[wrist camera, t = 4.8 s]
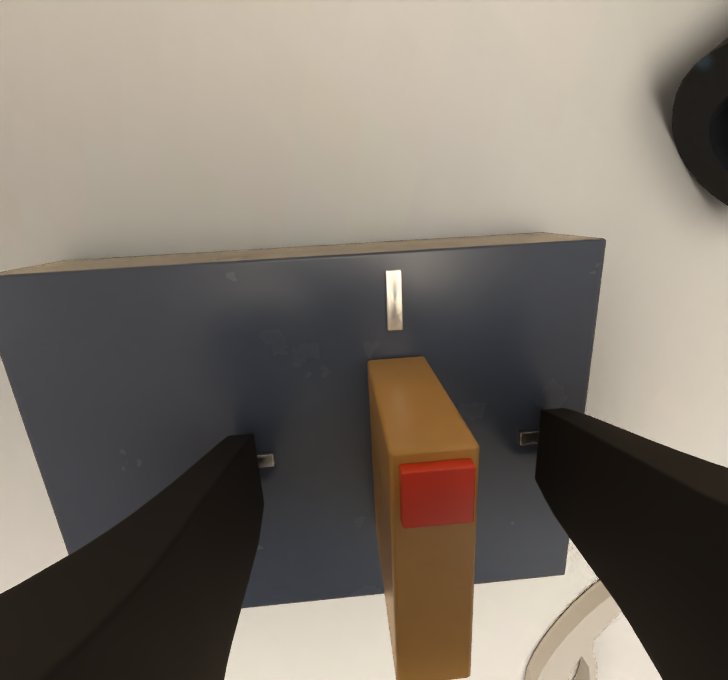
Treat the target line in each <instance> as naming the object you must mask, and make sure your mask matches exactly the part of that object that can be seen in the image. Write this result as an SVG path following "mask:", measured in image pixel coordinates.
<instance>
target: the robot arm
mask: <svg viewBox="0 0 728 680" xmlns="http://www.w3.org/2000/svg"><path fill="white" fill-rule="evenodd" d="M535 480H536V482H537V484H538V486H539V488H540V490H541V492H542V494H543V496H544V498H545V500H546V502H547V504H548V505H549V507H550V509H551V511H552V513H553V515H554V516H555V517H556V519H557V520H558V522H559V523H560V525H561V526H562V528H563V529H564V530H565V532H566V533H567V535H568V536H569V538H570V539H571V540H572V542H573V543H574V545H575V546H576V547H577V549H578V550H579V552H580V553H581V554H582V556H583V557H584V559H585V560H586V561H587V563H588V564H589V565H590V567H591V568H592V570H593V571H594V572H595V574H596V575H597V577H598V578H599V579H600V581H601V582H602V584H603V585H604V586H605V588H606V589H607V591H608V592H609V593H610V595H611V596H612V598H613V599H614V600H615V602H616V603H617V605H618V606H619V608H620V609H621V611H622V612H623V614H624V615H625V617H626V618H627V620H628V621H629V623H630V625H631V626H632V628H633V630H634V631H635V633H636V635H637V637H638V638H639V640H640V642H641V643H642V645H643V647H644V648H645V650H646V652H647V654H648V655H649V657H650V659H651V660H652V662H653V664H654V665H655V667H656V669H657V670H658V672H659V674H660V676H661V678H662V679H663V680H728V468H726V467H723V466H720V465H717V464H714V463H711V462H708V461H706V460H703V459H700V458H697V457H694V456H692V455H689V454H686V453H683V452H680V451H678V450H675V449H672V448H670V447H667V446H664V445H662V444H659V443H656V442H654V441H651V440H649V439H646V438H644V437H641V436H639V435H636V434H634V433H631V432H629V431H626V430H624V429H621V428H619V427H616V426H614V425H611V424H609V423H606V422H604V421H601V420H598V419H596V418H593V417H591V416H588V415H585V414H582V413H580V412H577V411H573V410H570V409H566V408H558V409H545V410H541V412H540V424H539V435H538V446H537V458H536V469H535ZM263 510H264V498H263V491H262V485H261V478H260V472H259V465H258V459H257V452H256V445H255V439H254V434H242V435H230V436H227V437H226V438H225V439H223V440H222V441H221V442H220V443H218V444H217V445H216V446H215V447H214V448H212V449H211V450H210V451H209V452H208V453H207V454H205V455H204V456H203V457H202V458H201V459H200V460H199V461H197V462H196V463H195V464H194V465H193V466H191V467H190V468H189V469H188V470H187V471H186V472H184V473H183V474H182V475H181V476H180V477H178V478H177V479H176V480H175V481H174V482H172V483H171V484H170V485H169V486H167V487H166V488H165V489H164V490H162V491H161V492H160V493H158V494H157V495H156V496H154V497H153V498H152V499H151V500H149V501H148V502H147V503H145V504H144V505H143V506H142V507H140V508H139V509H138V510H136V511H135V512H134V513H132V514H131V515H130V516H128V517H127V518H125V519H124V520H122V521H121V522H120V523H118V524H117V525H115V526H114V527H112V528H111V529H109V530H108V531H106V532H105V533H103V534H102V535H100V536H99V537H97V538H96V539H94V540H93V541H91V542H90V543H88V544H86V545H85V546H83V547H82V548H80V549H78V550H77V551H75V552H74V553H72V554H70V555H68V556H67V557H65V558H63V559H61V560H60V561H58V562H56V563H55V564H53V565H51V566H49V567H48V568H46V569H44V570H42V571H41V572H39V573H37V574H35V575H34V576H32V577H30V578H29V579H27V580H25V581H23V582H22V583H20V584H18V585H16V586H15V587H13V588H11V589H9V590H7V591H5V592H3V593H1V594H0V680H224V677H225V672H226V666H227V662H228V658H229V653H230V649H231V645H232V641H233V637H234V633H235V629H236V626H237V622H238V618H239V615H240V611H241V607H242V604H243V600H244V596H245V593H246V589H247V585H248V582H249V578H250V574H251V571H252V567H253V563H254V559H255V556H256V552H257V548H258V544H259V538H260V532H261V525H262V517H263Z"/></svg>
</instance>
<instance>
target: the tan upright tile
mask: <svg viewBox="0 0 728 680" xmlns="http://www.w3.org/2000/svg"><path fill="white" fill-rule="evenodd" d="M367 366H368V386H369V405H370V424H371V444H372V463H373V482H374V502H375V521H376V533H377V540H378V548H379V555H380V563H381V570H382V577H383V585H384V592H385V600H386V607H387V615H388V622H389V630H390V637H391V645H392V652H393V660H394V667H395V675H396V680H451V679H460V678H467V677H469V676H470V668H471V643H472V618H473V593H474V568H475V543H476V518H477V493H478V467H479V445H478V443H477V441H476V439H475V438H474V436H473V435H472V433H471V431H470V430H469V428H468V427H467V425H466V423H465V422H464V420H463V419H462V417H461V415H460V414H459V412H458V410H457V409H456V407H455V406H454V404H453V402H452V401H451V399H450V398H449V396H448V394H447V393H446V391H445V390H444V388H443V386H442V385H441V383H440V382H439V380H438V378H437V377H436V375H435V374H434V372H433V370H432V369H431V367H430V366H429V364H428V362H427V361H426V359H425V357H422V356H420V357H406V358H392V359H378V360H369V361H368V363H367Z"/></svg>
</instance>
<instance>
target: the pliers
mask: <svg viewBox="0 0 728 680" xmlns="http://www.w3.org/2000/svg"><path fill="white" fill-rule="evenodd" d="M621 612H622V611H621V609H620V608H619V606H618V605H617V603H616V602H615V600H614V599H613V598H612V596H611V595H610V593H609V592H608V591H607V589H606V588H605V586H604V585H603V584H602V582H601V581H600V580H599V581H598V582H597V583H596V584H594V585H593V586H592V587H590V588H589V589H588V590H587V591H586V592H585V593H584V594H583V595H581V596H580V597H579V598H578V599H577V600H576V601H575V602H574V603H573V604H572V605H571V606H570V607H569V608H568V609H567V610H566V611H565V612H564V613H563V614H562V616H561V617H560V618H559V619H558V620H557V621H556V623H555V624H554V625H553V626H552V627H551V629H550V630H549V631H548V632H547V634H546V635H545V637H544V638H543V640H542V641H541V643H540V644H539V646H538V647H537V649H536V650H535V652H534V654H533V656H532V658H531V661H530V663H529V665H528V667H527V671H526V676H525V680H569V678H570V675H571V673H572V670H573V669H574V667H575V666H576V664H577V663H578V661H579V660H580V665H579V668H578V671H577V674H576V676H575V678H574V680H596V679H597V663H596V659H595V656H594V652H593V647H594V640H595V639H596V638H597V637H598V636H599V635H600V634H601V633H602V632H603V630H604V629H605V628H606V627H607V626H608V625H609V624H610V623H611V622H612V621H613V620H614V619H615V618H616V617H617V616H618V615H619V613H621Z"/></svg>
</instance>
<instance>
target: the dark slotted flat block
mask: <svg viewBox="0 0 728 680" xmlns="http://www.w3.org/2000/svg"><path fill="white" fill-rule="evenodd" d="M605 245H606V240H605V239H603V238H594V237H584V236H574V235H564V234H554V233H544V232H541V233H524V234H507V235H490V236H474V237H457V238H440V239H423V240H406V241H389V242H372V243H355V244H338V245H321V246H304V247H288V248H271V249H254V250H237V251H220V252H203V253H186V254H169V255H152V256H135V257H118V258H102V259H85V260H68V261H58V262H53V263H48V264H42V265H37V266H31V267H26V268H20V269H15V270H9V271H4V272H0V356H1V358H2V361H3V364H4V367H5V370H6V373H7V376H8V379H9V382H10V385H11V388H12V391H13V394H14V396H15V399H16V402H17V405H18V408H19V411H20V414H21V417H22V420H23V423H24V426H25V429H26V431H27V434H28V437H29V440H30V443H31V446H32V449H33V452H34V455H35V458H36V461H37V464H38V466H39V469H40V472H41V475H42V478H43V481H44V484H45V487H46V490H47V493H48V496H49V499H50V501H51V504H52V507H53V510H54V513H55V516H56V519H57V522H58V525H59V528H60V531H61V534H62V536H63V539H64V542H65V545H66V548H67V551H68V554H69V555H70V554H72V553H74V552H75V551H77V550H78V549H80V548H82V547H83V546H85V545H86V544H88V543H90V542H91V541H93V540H94V539H96V538H97V537H99V536H100V535H102V534H103V533H105V532H106V531H108V530H109V529H111V528H112V527H114V526H115V525H117V524H118V523H120V522H121V521H122V520H124V519H125V518H127V517H128V516H130V515H131V514H132V513H134V512H135V511H136V510H138V509H139V508H140V507H142V506H143V505H144V504H145V503H147V502H148V501H149V500H151V499H152V498H153V497H154V496H156V495H157V494H158V493H160V492H161V491H162V490H164V489H165V488H166V487H167V486H169V485H170V484H171V483H172V482H174V481H175V480H176V479H177V478H178V477H180V476H181V475H182V474H183V473H184V472H186V471H187V470H188V469H189V468H190V467H191V466H193V465H194V464H195V463H196V462H197V461H199V460H200V459H201V458H202V457H203V456H204V455H205V454H207V453H208V452H209V451H210V450H211V449H212V448H214V447H215V446H216V445H217V444H218V443H220V442H221V441H222V440H223V439H225V438H226V437H227V436H230V435H242V434H254V439H255V445H256V452H257V459H258V465H259V472H260V478H261V485H262V491H263V498H264V510H263V517H262V525H261V532H260V538H259V544H258V548H257V552H256V556H255V559H254V563H253V567H252V571H251V574H250V578H249V582H248V585H247V589H246V593H245V596H244V600H243V604H242V607H241V608H249V607H259V606H269V605H278V604H288V603H298V602H307V601H317V600H326V599H336V598H346V597H355V596H365V595H374V594H384V593H385V592H384V585H383V577H382V570H381V563H380V555H379V548H378V540H377V533H376V521H375V502H374V482H373V463H372V444H371V424H370V405H369V386H368V366H367V363H368V361H369V360H378V359H392V358H406V357H420V356H422V357H425V359H426V361H427V362H428V364H429V366H430V367H431V369H432V370H433V372H434V374H435V375H436V377H437V378H438V380H439V382H440V383H441V385H442V386H443V388H444V390H445V391H446V393H447V394H448V396H449V398H450V399H451V401H452V402H453V404H454V406H455V407H456V409H457V410H458V412H459V414H460V415H461V417H462V419H463V420H464V422H465V423H466V425H467V427H468V428H469V430H470V431H471V433H472V435H473V436H474V438H475V439H476V441H477V443H478V445H479V467H478V493H477V518H476V543H475V568H474V584H480V583H490V582H499V581H509V580H519V579H528V578H538V577H547V576H557V575H564V574H565V567H566V559H567V551H568V543H569V536H568V535H567V533H566V532H565V530H564V529H563V528H562V526H561V525H560V523H559V522H558V520H557V519H556V517H555V516H554V515H553V513H552V511H551V509H550V507H549V505H548V504H547V502H546V500H545V498H544V496H543V494H542V492H541V490H540V488H539V486H538V484H537V482H536V480H535V469H536V458H537V446H538V435H539V424H540V412H541V410H545V409H558V408H566V409H570V410H573V411H577V412H580V413H582V414H585V406H586V398H587V390H588V382H589V374H590V366H591V358H592V350H593V342H594V334H595V325H596V317H597V309H598V301H599V293H600V285H601V277H602V269H603V261H604V253H605Z"/></svg>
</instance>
